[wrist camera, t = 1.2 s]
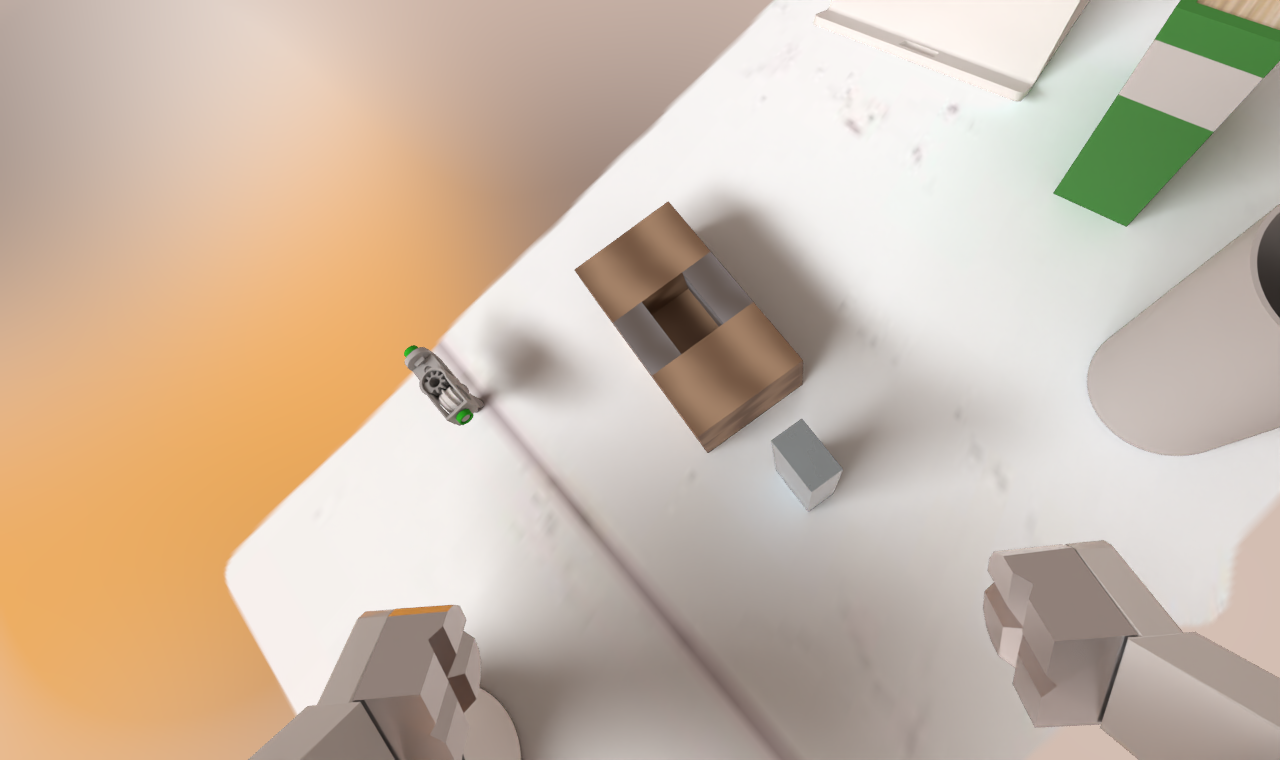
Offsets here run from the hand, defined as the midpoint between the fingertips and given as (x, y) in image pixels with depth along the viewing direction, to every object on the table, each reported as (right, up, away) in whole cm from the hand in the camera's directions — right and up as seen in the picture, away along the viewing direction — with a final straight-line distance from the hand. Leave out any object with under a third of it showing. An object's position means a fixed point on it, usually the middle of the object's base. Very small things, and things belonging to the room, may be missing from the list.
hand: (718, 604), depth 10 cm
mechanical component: (-20, 0, +67) cm, 69 cm away
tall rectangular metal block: (+15, -7, +56) cm, 59 cm away
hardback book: (+49, +28, +59) cm, 82 cm away
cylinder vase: (+47, +3, +52) cm, 70 cm away
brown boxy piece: (+5, +8, +63) cm, 64 cm away
